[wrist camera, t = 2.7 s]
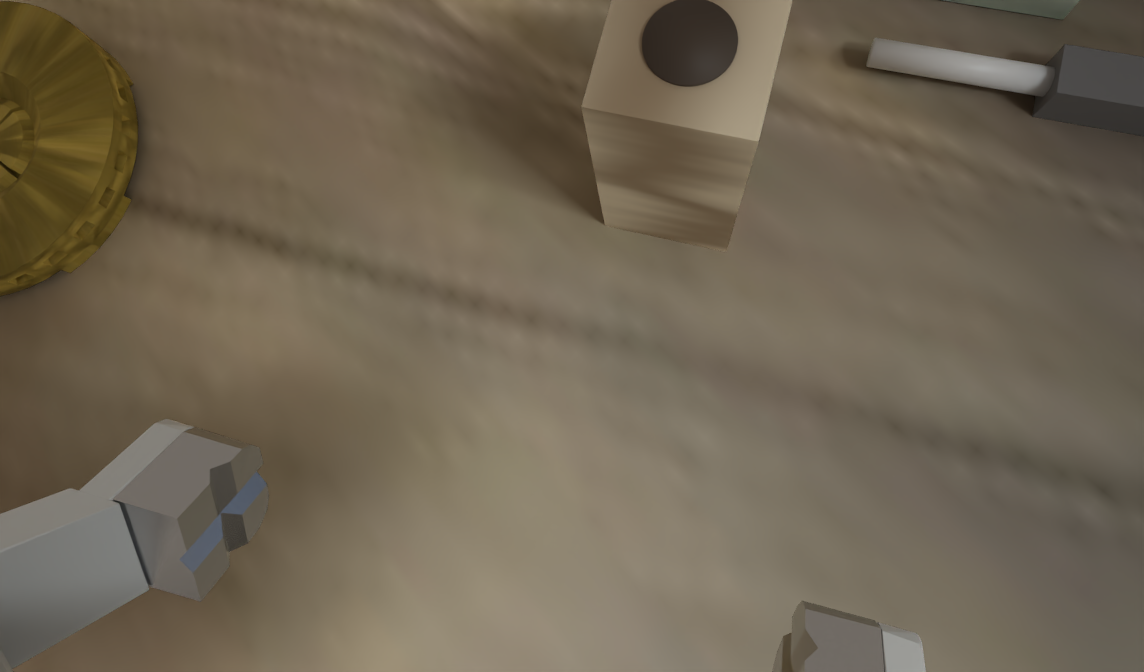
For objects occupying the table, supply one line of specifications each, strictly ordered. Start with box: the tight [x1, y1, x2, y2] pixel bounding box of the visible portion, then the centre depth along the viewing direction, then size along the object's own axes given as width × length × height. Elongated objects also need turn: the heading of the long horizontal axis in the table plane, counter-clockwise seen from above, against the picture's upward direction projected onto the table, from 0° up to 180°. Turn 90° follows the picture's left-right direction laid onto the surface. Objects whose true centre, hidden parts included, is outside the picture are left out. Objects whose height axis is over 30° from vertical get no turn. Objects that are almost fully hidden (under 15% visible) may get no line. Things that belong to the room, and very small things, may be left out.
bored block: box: [581, 0, 793, 252], centre depth 24 cm, size 5×4×9 cm
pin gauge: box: [866, 37, 1144, 136], centre depth 26 cm, size 11×2×2 cm, turn 75°
